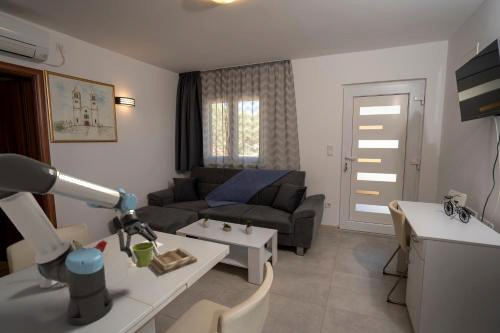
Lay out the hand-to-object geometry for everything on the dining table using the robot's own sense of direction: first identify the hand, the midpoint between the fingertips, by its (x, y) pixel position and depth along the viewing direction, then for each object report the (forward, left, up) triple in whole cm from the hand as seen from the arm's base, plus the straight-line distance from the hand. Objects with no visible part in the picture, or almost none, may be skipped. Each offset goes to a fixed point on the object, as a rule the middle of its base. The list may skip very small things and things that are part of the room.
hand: (146, 258), depth 112 cm
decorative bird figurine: (-15, +46, -13) cm, 50 cm away
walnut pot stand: (+17, +13, -13) cm, 25 cm away
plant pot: (-1, +3, -4) cm, 5 cm away
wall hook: (-31, +30, -13) cm, 45 cm away
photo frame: (+12, +44, -13) cm, 47 cm away
